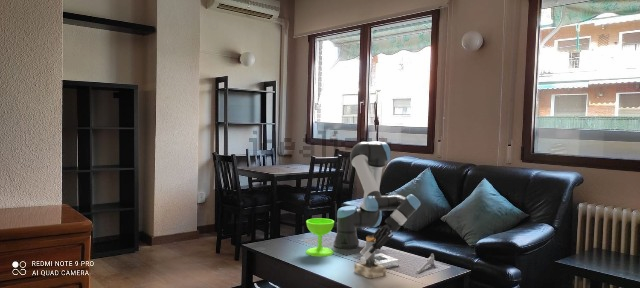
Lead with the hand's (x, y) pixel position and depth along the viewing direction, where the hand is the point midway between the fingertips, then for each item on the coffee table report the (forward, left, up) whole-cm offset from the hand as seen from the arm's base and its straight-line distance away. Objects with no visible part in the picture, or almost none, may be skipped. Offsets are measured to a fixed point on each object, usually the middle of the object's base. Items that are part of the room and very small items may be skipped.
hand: (363, 255), depth 221 cm
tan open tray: (+1, +4, -9) cm, 10 cm away
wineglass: (-42, +3, -9) cm, 43 cm away
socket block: (-8, +18, -9) cm, 21 cm away
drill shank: (+1, +4, -5) cm, 6 cm away
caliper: (+10, +32, -10) cm, 35 cm away
